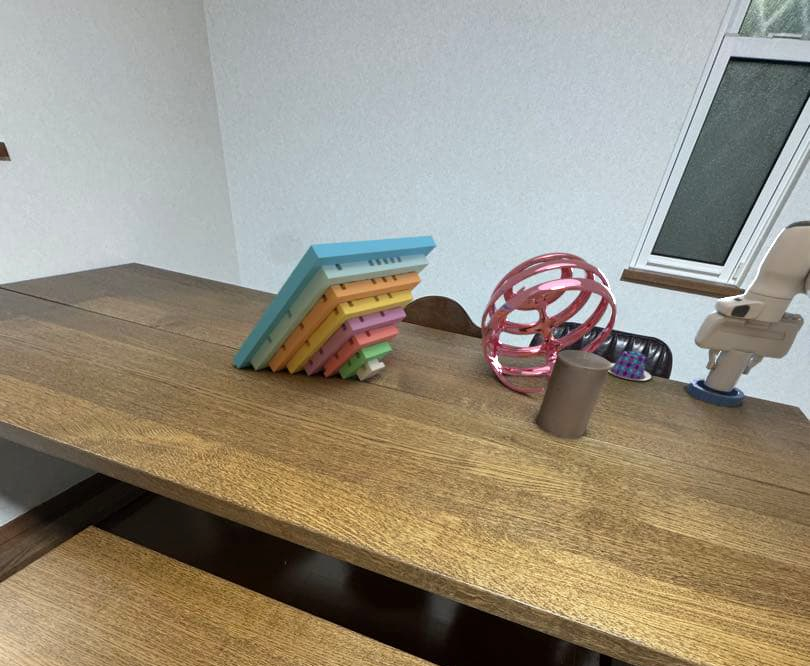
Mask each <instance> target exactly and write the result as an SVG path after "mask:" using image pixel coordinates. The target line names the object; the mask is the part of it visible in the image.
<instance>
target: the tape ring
mask: <svg viewBox="0 0 810 666" xmlns="http://www.w3.org/2000/svg"><path fill="white" fill-rule="evenodd" d="M705 379H706V378H704V377H703V378H702V377H701V378H699V377H698V378H693V379H691V380H690V382H689V383H688V385H687V387H686V392H687V393H688V394H689V395H690V396H691V397H693V398H696V399H698V400H700V401H703V402H705V403H709V404H711V405H712V404H713V405H715V406H722V407H730V408H731V407H737V406H739V405H740V404H741V403H742V402H743V399H744V398H745V392H743V391H742V389H740V388H738V387H736V386H735V387H734V388H733V390H732V391H730V392H725V391H719V390H716V389H713V388H710V387H708V386H706V385H705V384H704V381H705ZM709 390H710V391H709ZM711 390H712V391H715V392H712V391H711ZM716 392H718V393H716ZM720 393H721V394H720Z"/></svg>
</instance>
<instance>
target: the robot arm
mask: <svg viewBox="0 0 810 666" xmlns="http://www.w3.org/2000/svg"><path fill="white" fill-rule="evenodd" d="M799 294H802V295H805V296H807V297H808V298H809V299H810V220H799V221H795V222H792V223H790V224H788V225H786V226H785V227H784V228H783V229H782V230H781V231H780V233H779V234H778V235H777V237H776V238H775V239H774V241H773V242H772V244H771V246H770V248H769V249H768V251H767V252H766V253H765V255H764V257H763V259H762V261H761V263H760V265H759V267H758V271H757V274H756V276H755V278H754V280H753V281H752V282H751V284H750V285H749V286H748V288H747V289H746V291H745V293H744V294H739V295H735V296H728V297H724V298H720V299H718V300H717V301H715V304H714V307H713V308H714V311H712V312H710V313H709V314H708V315H707V316H706V317H705V319H704V320H703V322H702V323H701V325H700V327H699V329H698V330H697V332H696V335H695V336H694V345H696V346H697V347H698V348H700V349H705V350H708V362H707V363H706V366H705V368H706V369H707V370H709V371H710V370H715V369H716V366H717V365H718V363H717V362H716V361H715V360H716V356H718V355H719V353H720V351H726V352H729V351H730V350H735V351H739V352H744V353H752V352H753V353H754V355H753V357H752V358H751V360H750V362H749V363H748V365H747V367H746V368H745V370H744V372H743V374H742V375H746V376H747V375H748V374H749V373H750V372H751V370H752V369H753V368H754V367H756V366H757V365H758V364H760V363H761V362H762V361H763V359H764V358H770V359H777V360H780V359H783V358H784V357H785V356H787V355H788V353H789V352H790V350H791V348H792V346H793V345H794V342H795V340H796V338H797V336H798V333H799V332H800V330H801V329H802V327H803V326H804V324H805V319H804V317H803V316H802V314H801V313H800V314H799V313H791V312H788V311H787V310H788V308H789V306H790V305H791V303H792V301H793V300H794V298H795V296H797V295H799ZM786 311H787V312H786Z"/></svg>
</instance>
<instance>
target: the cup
mask: <svg viewBox="0 0 810 666" xmlns="http://www.w3.org/2000/svg"><path fill="white" fill-rule="evenodd" d="M753 355H754V353H753V352H752V353H744V352H739V351H735V350H730V351H729V352H726V351H720V353H719V354H718V355H716V357H715V361H716V362H717V363H718V365H717V366H716V369H715V370H709V371H708V374H707V375H706V377H705V378H704V379H705V381H704V384H705V385H706V386H708V387H710V388H713V389H716V390H719V391H725V392H730V391H732V390H733V388H734V387H736V385H737V383H738V382H739V380H740V378H741V377H742V375H744V374H743V372H744V370H745V368H746V367H747V365H748V363H749V362H750V361H751V360H752V359H753V358H752V357H753Z"/></svg>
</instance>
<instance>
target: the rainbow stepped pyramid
mask: <svg viewBox="0 0 810 666" xmlns="http://www.w3.org/2000/svg"><path fill="white" fill-rule="evenodd" d="M436 247H437V243H436V241H435V239H434V237H433V235H420V236H409V237H408V236H407V237H406V236H405V237H395V238H394V237H393V238H383V239H382V238H380V239H369V240H355V241H354V240H353V241H344V242H329V243H317V244H316V243H315V244H311V245H310V246H309V247H308V249H307V250H306V251H305V253H304V255H303V256H302V258H301V259H300V260H299V262H298V263H297V264H296V266H295V268H294V269H293V270H292V272H291V274H290V275H289V276H288V277H287V279H286V280H285V282H284V283H283V285H282V286H281V288H280V289H279V290H278V292H277V293H276V295H275V296H274V298H273V299H272V301H271V303H270V304H269V305H268V307H267V308H266V309H265V311H264V312H263V314H262V315H261V317H260V318H259V320H258V322H257V323H255V325H254V327H253V328H252V330H251V331H250V333H249V334H248V336H247V337H246V339H245V340H244V341H243V342H242V345H241V346H240V348H239V349H238V350H237V352H236V353H235V355H234V356H233V357H232V361H233V363H234V365H235V366H236V368H237V369H242V368H245V367H249V366H252V367H253V368H254V370H255V371H259V370H262V369H265V368H270V369H271V371H272V372H273V373H275V372H279V371H282V370H285V369H287V370H288V372H289V373H290V375H292V374H295V373H298V372H301V371H305V372H306V374H307V376H312V375H315V374H318V373H322V372H323V375H324V377H325V378H329V377H332V376H335V375H338V374H340V377H341V378H342V379H343V380H345V379H348V378H350V377H351V378H352V377H353V376H356V375H357V377H358V379H359V380H360V382H361V381H364V380H367V379H369V378H373V377H374V376H375V375H377V374H378V373H379V372H380V371H381V370H382V369H384V368H385V367H386V366H385V363H384V362H383V361H381V360H383V358H384V357H385V356H387V355H388V354H389V353H391V352H392V350H393V349H392V346H391V345H390V342H391V341H392V340H393V339H395V337H397V336H398V335H399V334H400V332H399V329H398V328H397V325H398V324H400V322H402V321H403V320H404V319H405V318H406V317H407V314H406V312H405V310H404V309H405V308H406V307H407V306H408V305H409V304H410V303H412V301H413V300H414V299H415V298H414V295H413V294H412V291H413V290H414V289H415V288H416V287H418V285H419V284H420V283H421V282H422V278H421V277H420V275H419V274H420V273H421V272H422V271H423V270H424V269H425V268H426V267H427V266H428V265H429V264H430V262H429V261H428V258H427V256H428V255H429V254H430V253H431V252H433V250H434V249H435V248H436Z"/></svg>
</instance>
